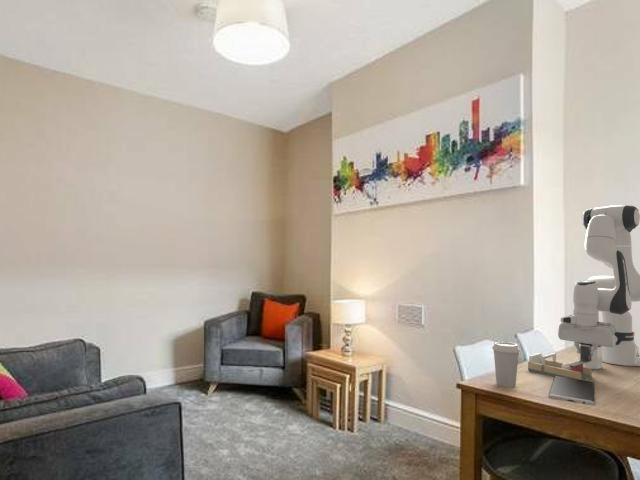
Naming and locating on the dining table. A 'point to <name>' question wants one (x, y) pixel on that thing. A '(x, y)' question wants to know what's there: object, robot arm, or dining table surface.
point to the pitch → (555, 367)
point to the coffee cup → (506, 363)
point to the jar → (594, 358)
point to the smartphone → (573, 390)
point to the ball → (566, 366)
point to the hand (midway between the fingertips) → (585, 354)
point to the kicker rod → (582, 358)
